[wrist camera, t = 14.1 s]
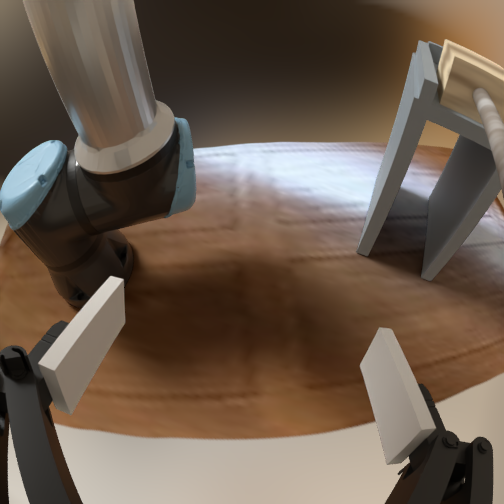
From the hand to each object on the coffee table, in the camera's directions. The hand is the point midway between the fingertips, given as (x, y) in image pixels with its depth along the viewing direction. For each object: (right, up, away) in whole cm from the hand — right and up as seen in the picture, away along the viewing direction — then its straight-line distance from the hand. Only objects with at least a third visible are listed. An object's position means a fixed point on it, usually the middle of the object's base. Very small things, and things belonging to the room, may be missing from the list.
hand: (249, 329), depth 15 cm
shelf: (+28, +9, +36) cm, 46 cm away
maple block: (+21, +14, +6) cm, 26 cm away
